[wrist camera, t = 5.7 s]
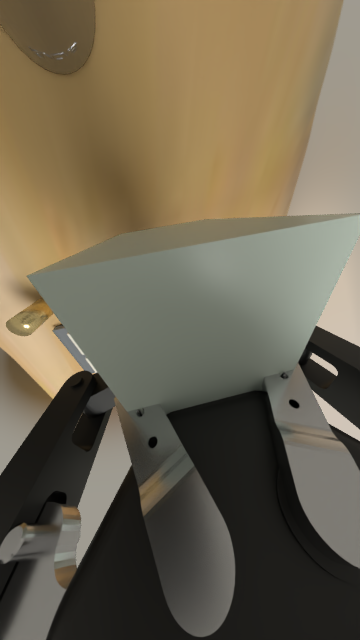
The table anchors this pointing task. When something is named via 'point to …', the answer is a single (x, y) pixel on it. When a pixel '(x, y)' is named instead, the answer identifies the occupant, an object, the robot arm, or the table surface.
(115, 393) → the block
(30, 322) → the pin
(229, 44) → the table surface
